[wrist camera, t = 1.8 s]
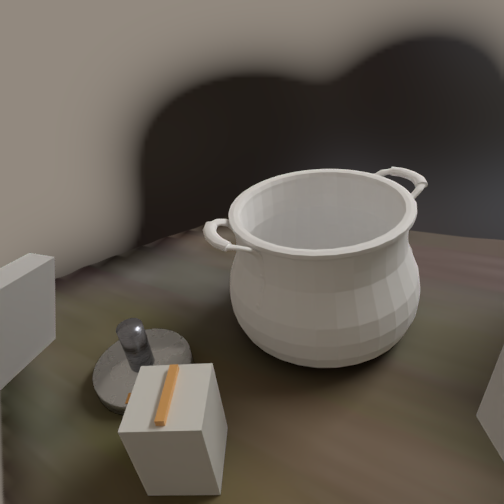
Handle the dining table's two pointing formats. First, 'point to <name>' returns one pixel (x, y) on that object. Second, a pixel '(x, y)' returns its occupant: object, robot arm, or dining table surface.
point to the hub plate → (119, 367)
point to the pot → (324, 264)
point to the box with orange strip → (176, 430)
